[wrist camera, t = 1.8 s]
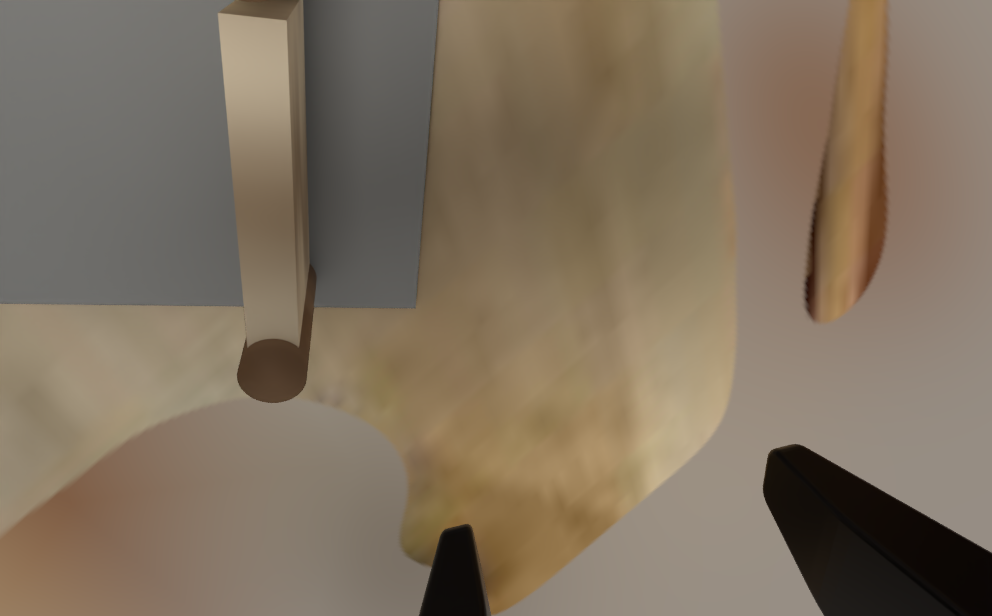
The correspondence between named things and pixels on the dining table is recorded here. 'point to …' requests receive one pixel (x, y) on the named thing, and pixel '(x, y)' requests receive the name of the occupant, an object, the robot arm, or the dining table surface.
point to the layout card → (202, 152)
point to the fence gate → (270, 191)
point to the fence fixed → (253, 0)
